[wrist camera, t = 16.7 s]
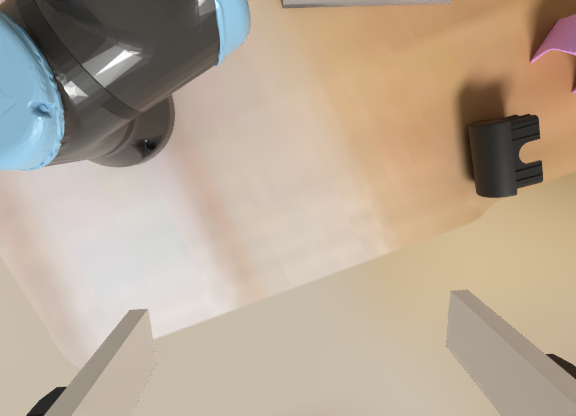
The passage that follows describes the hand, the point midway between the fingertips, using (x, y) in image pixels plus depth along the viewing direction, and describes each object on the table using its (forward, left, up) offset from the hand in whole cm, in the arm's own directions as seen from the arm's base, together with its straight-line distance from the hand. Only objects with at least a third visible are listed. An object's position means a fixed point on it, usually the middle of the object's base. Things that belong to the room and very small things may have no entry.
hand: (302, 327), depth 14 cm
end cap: (+30, +4, -35) cm, 46 cm away
